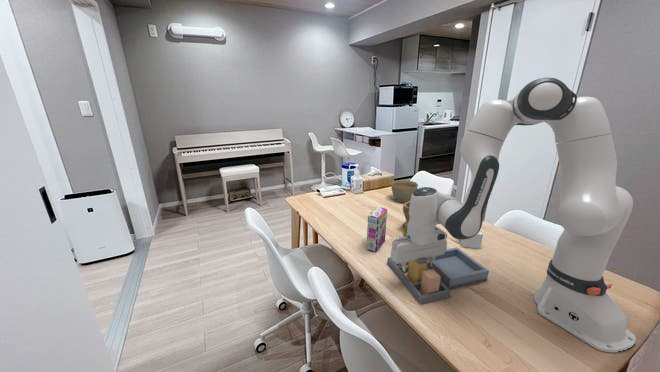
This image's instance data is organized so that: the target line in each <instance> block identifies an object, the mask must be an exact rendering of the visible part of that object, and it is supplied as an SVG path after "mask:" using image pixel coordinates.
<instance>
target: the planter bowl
mask: <svg viewBox="0 0 660 372" xmlns="http://www.w3.org/2000/svg"><path fill="white" fill-rule="evenodd" d="M390 185H391V191H392V194H393V197H394V198H395V201H397V202H399V203H403V204H405V203H406V202H408V201H410V200H411V196H412V194H413V192H414V191H415V190H417V189H418V187H419V184H418V183H417V182H415V181H412V180H406V179H399V180H394V181H392V182H391V184H390Z"/></svg>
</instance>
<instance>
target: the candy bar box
mask: <svg viewBox="0 0 660 372" xmlns="http://www.w3.org/2000/svg"><path fill="white" fill-rule="evenodd" d="M387 217H388V208H385V207H380V206H377V207H376V208H375V209H374V210H373V211H372V212H371V211H370V213H369V214H368V215H367V229H366V230H367V233H366V250H368V251H371V252H374V253H377V252H378V251H379V249H380V248H381V247H382V246H383V244H384V243H385V242H386V232H387Z"/></svg>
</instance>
